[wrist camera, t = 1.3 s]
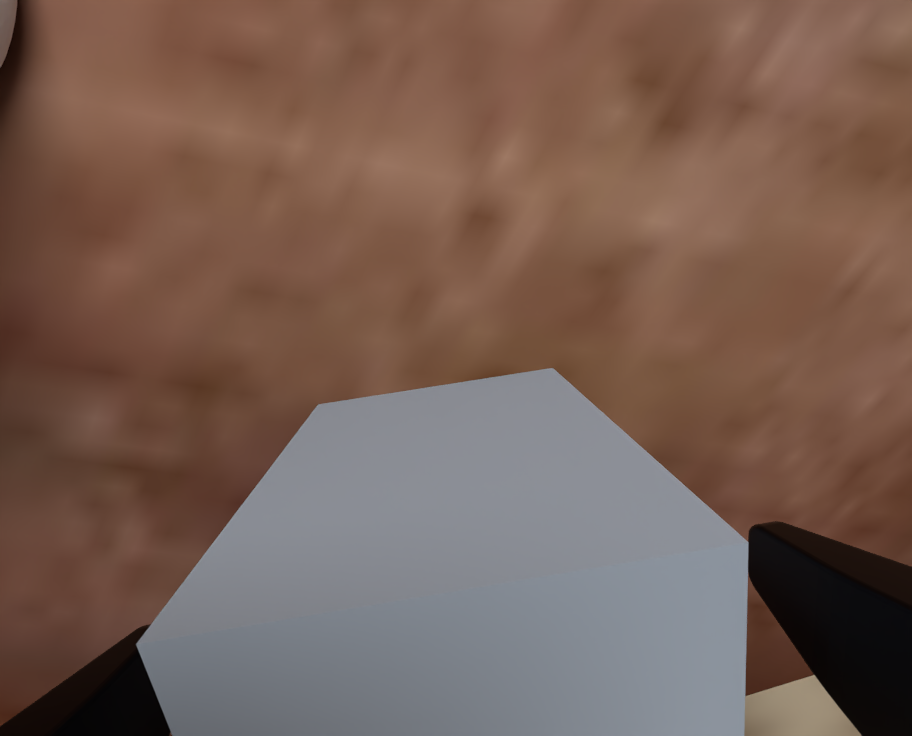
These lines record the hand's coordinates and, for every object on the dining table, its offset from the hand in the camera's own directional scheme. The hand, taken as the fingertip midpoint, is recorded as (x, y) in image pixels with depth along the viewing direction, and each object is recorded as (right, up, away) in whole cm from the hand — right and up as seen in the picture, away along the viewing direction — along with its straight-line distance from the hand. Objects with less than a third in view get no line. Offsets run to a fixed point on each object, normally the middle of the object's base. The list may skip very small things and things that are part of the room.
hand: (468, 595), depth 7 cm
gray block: (0, +1, +3) cm, 3 cm away
